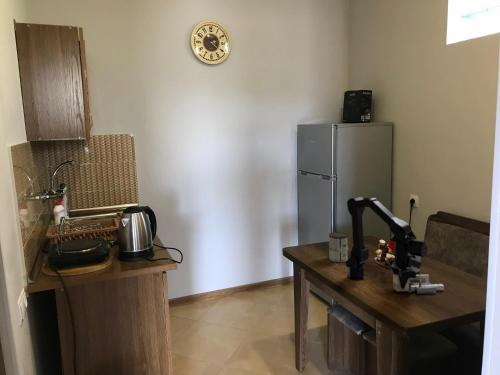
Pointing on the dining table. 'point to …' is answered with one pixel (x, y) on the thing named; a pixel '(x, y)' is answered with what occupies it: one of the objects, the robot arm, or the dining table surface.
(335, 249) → the coffee can
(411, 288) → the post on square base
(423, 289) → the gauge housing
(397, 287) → the block
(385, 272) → the dining table surface
